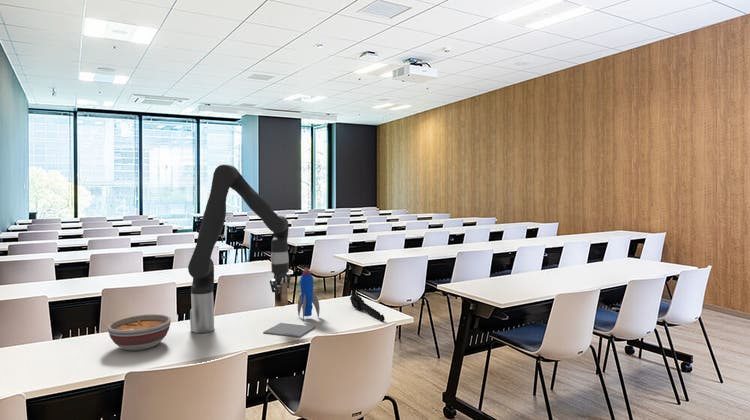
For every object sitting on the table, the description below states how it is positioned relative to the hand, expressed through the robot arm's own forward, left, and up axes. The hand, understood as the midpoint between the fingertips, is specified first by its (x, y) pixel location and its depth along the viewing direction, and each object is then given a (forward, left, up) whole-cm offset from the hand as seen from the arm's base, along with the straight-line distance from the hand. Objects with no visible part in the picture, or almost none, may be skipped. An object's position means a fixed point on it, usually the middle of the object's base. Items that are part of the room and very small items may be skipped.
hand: (281, 299), depth 212 cm
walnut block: (0, 0, -2) cm, 2 cm away
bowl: (-43, -37, -14) cm, 58 cm away
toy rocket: (+3, +17, -14) cm, 22 cm away
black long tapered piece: (+26, +36, -14) cm, 47 cm away
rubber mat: (+4, 0, -13) cm, 14 cm away
